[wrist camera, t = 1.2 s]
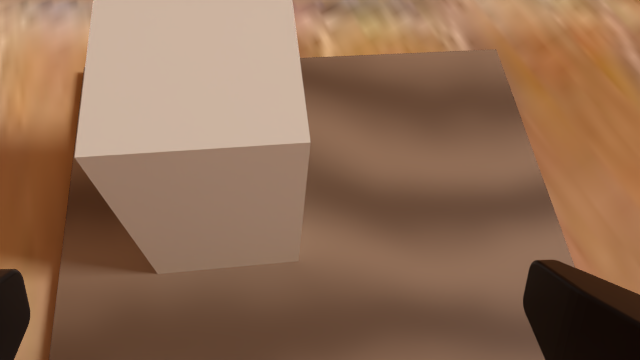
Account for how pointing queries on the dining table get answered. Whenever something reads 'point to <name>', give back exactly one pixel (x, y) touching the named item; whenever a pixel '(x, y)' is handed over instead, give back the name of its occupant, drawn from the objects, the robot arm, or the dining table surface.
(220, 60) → the cream matte box
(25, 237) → the dining table surface
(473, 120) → the board
